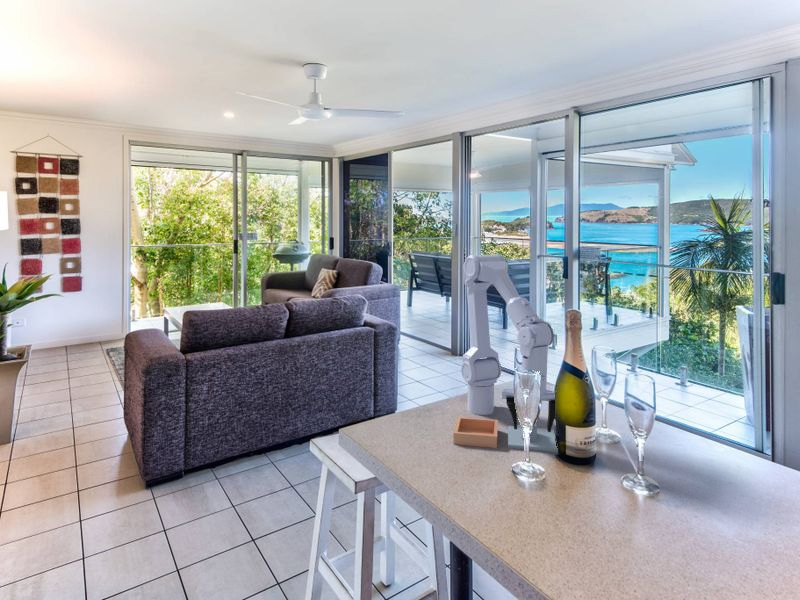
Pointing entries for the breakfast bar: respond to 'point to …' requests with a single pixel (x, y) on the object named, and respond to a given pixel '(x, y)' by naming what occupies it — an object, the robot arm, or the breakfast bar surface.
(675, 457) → the breakfast bar surface
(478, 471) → the breakfast bar surface
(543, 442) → the lid
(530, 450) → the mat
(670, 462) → the breakfast bar surface
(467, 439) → the square open tray
